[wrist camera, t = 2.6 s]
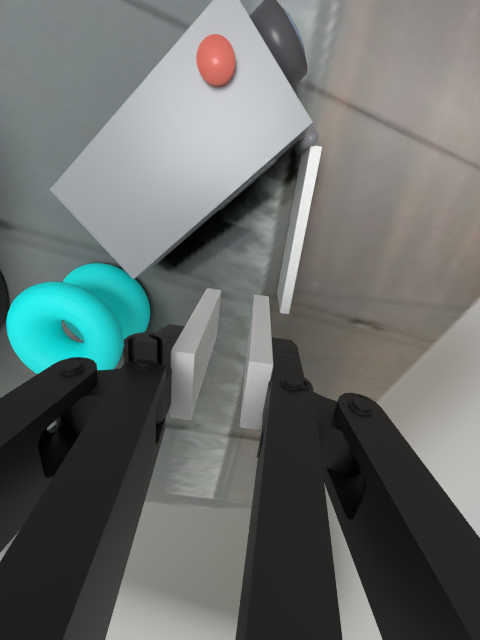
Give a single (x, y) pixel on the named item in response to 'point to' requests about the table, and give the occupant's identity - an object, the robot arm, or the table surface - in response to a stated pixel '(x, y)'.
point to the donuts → (78, 317)
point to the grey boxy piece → (191, 134)
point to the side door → (298, 217)
